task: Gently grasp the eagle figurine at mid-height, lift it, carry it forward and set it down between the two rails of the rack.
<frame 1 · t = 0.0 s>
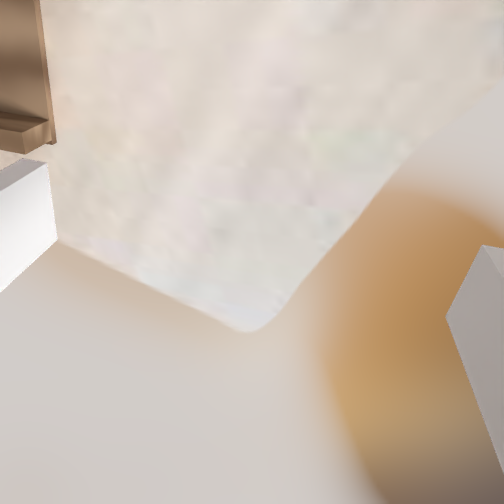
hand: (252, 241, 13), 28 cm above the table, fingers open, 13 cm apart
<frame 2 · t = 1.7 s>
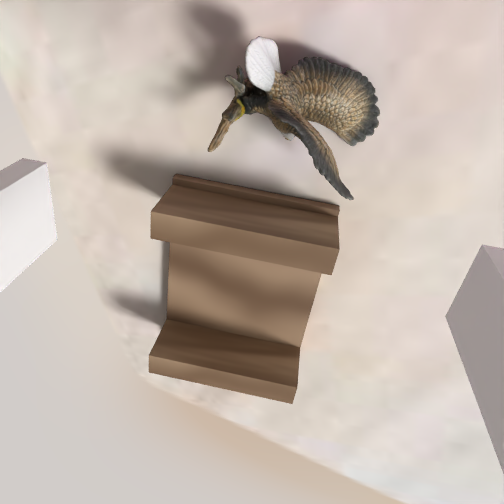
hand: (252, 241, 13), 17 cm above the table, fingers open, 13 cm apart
rack: (242, 278, 35), on the table
eagle figurine: (303, 108, 27), on the table
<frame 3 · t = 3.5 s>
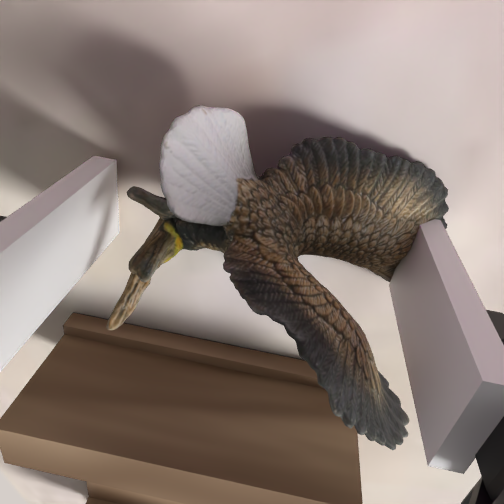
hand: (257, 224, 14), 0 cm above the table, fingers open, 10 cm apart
rack: (199, 452, 22), on the table
eagle figurine: (304, 215, 14), on the table, touching gripper
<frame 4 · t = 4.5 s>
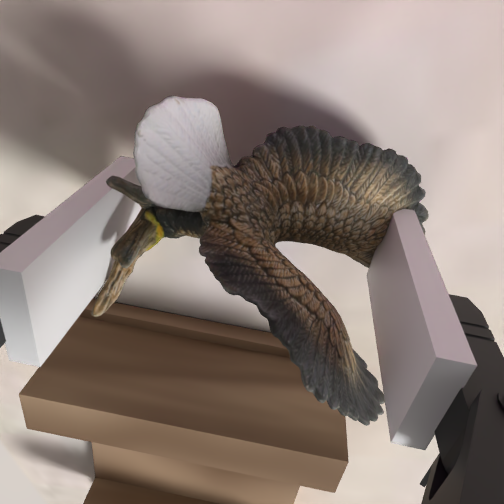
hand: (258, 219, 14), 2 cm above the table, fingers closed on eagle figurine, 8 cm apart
rack: (200, 430, 23), on the table
eagle figurine: (284, 204, 15), point 1 cm above the table, touching gripper
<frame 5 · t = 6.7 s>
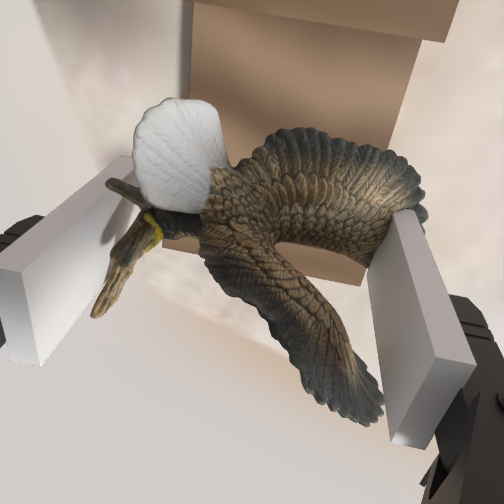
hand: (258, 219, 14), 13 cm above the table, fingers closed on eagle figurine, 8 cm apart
rack: (289, 118, 25), on the table
eagle figurine: (284, 205, 15), point 12 cm above the table, touching gripper
when the fingers open (3 cm above the table, at t = 8.9 s): eagle figurine drops 1 cm, resting on rack.
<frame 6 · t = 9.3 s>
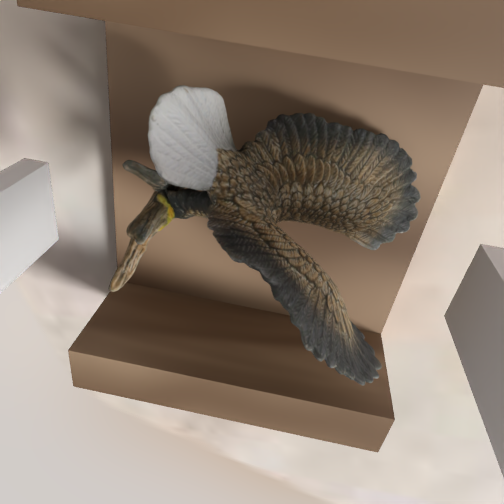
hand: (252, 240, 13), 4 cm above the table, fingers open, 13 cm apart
rack: (268, 187, 16), on the table
eagle figurine: (286, 189, 16), point 1 cm above the table, touching rack
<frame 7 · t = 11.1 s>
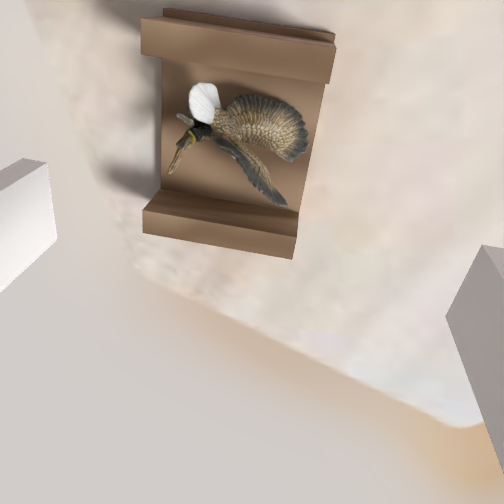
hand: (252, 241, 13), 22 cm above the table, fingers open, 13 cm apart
rack: (237, 134, 34), on the table
eagle figurine: (247, 133, 33), point 1 cm above the table, touching rack
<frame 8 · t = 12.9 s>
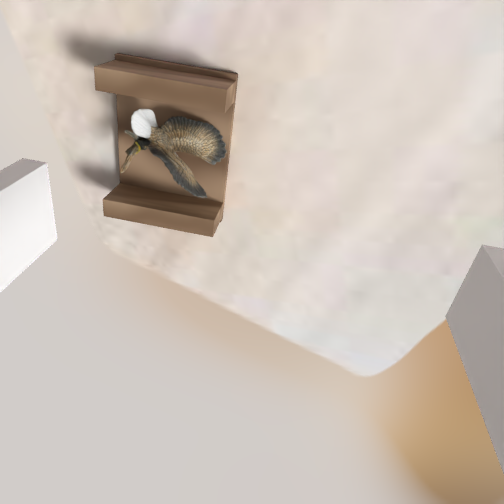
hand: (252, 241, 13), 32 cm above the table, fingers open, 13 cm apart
rack: (174, 143, 45), on the table
eagle figurine: (182, 143, 44), point 1 cm above the table, touching rack
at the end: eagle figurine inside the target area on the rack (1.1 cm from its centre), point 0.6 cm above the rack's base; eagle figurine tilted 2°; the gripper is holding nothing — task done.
